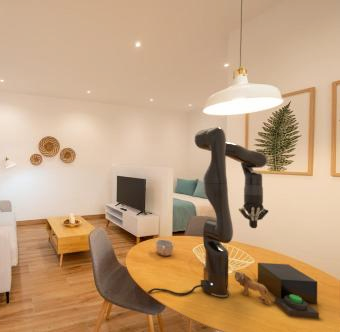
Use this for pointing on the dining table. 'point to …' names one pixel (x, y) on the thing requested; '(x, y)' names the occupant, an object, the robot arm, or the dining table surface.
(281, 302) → the control block
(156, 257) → the dining table surface
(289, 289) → the cabinet
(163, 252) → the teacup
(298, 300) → the button
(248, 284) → the lion figurine
